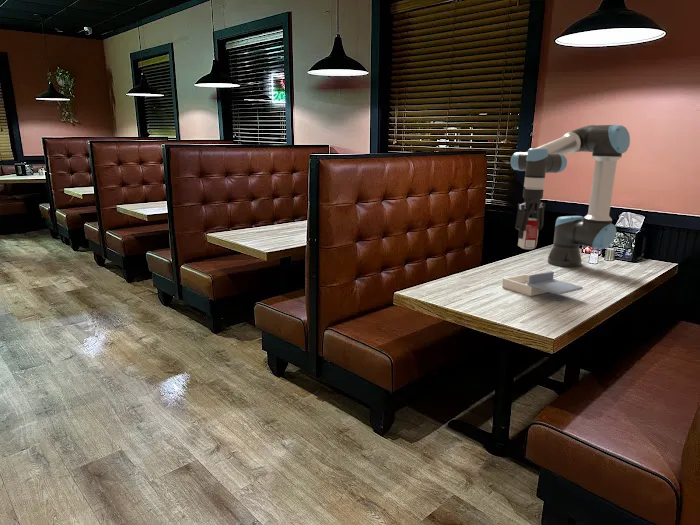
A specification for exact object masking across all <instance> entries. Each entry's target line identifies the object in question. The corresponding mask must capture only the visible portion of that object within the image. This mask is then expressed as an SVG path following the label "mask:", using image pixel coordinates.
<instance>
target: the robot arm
mask: <svg viewBox="0 0 700 525" xmlns="http://www.w3.org/2000/svg"><path fill="white" fill-rule="evenodd" d="M630 136H631V135H630V132H629V130H628V129H627V127H626V126H624V125H621V124H620V125H619V124H603V125H602V124H601V125H600V124H599V125H596V124H592V125H591V124H590V125H585V126H582V127H579V128H575V129H573V130H570V131H569V132H567V133H564V134H563V136H561V137H560V138H557V139H555V140H552V141H550V142H547V143H545V144H542V145H540V146H537V147H535V148H531V147H530V148H529V149H528V150H527V151H524V152H523V151H519V152H518V151H517V152H514V153H513V154H512V155H511V157H510V167H511V169H513V170H515V171H519V172H524V171H525V175H524V182H523V190H522V198H523V202H522V203H518V204H517V213H516V220H515V226H514V229H515V230H518V236H517V237H518V238H517V239H518V240H517V241H518V242H517V246H518V247H519V246H520V248H521V247H525V238H526V231H524V230H525V228H526V225H527V222H528V219H529V218H530V216H531V218H536V219H537V222H538V233H537V239H538V237H539V232H540V231H541V230H542V229H543V227H544V219H545V207H546V203H545V202H541V200H542V199H543V198H544V188H545V182H546V173H547V174H549V173H552V174H557V173H561V172H564V170H565V169H566V168H567V164H568V159H567V157H566V156H565V155H567V154H575V153H581V152H585V153H587V152H589V153H592V154H591V155H592V156H591V157H592V158H593V159H594V168H593V175H592V181H591V182H592V183H591V190H590V195H589V196H590V197H589V203H588V204H589V205H588V212H587V214H586V215H585V216H582V215H565V216H558V217H557V218H556V220H555V225H554V236H553V246H552V247H551V251H550V253H549V255H548V256H547V263H548V264H550V265H554V266H558V267H566V268H576V267H577V268H578V267H581V266H582V255H581V252H580V246H584V247H589V248H592V249H593V248H594V249H600V250H604V249H607V248H608V247H610V246H611V244H613V242H614V241H615V238H616V235H617V226H616V225H615V224H613V223H612V222H613V219H612V218H611V216H610V212H611V203H612V197H613V190H614V185H615V184H614V183H615V177H616V171H617V170H616V169H617V163H618V161H620V159H621V158H622V156H623V154H624V153H626V152H628V150H629V149H628V148H630V144H631V137H630ZM537 244H538V241H537V242H536V246H537Z"/></svg>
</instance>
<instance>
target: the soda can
mask: <svg viewBox="0 0 700 525" xmlns="http://www.w3.org/2000/svg"><path fill="white" fill-rule="evenodd" d="M524 231H526V238H525V247H520V246H518V247H520V248H521V249H523V250H533V249H535V248H537V245H536V242H537V243H538V238H537V233H538V222H537V219H536V218H532V217H529V219H528V222H527V225H526V228H525V230H524ZM538 234H539V233H538Z"/></svg>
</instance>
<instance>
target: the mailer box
mask: <svg viewBox="0 0 700 525" xmlns="http://www.w3.org/2000/svg"><path fill="white" fill-rule="evenodd" d="M530 275H531V274H528V273H523V274H518V275H513V276H509V277H504V278H502V288H504V289H508V290H510V291H514V292H518V293H520V294H523V295H526V296H529V297H532V296H537V295H540V294H541V295H542V294H545V292H546V293H549V292H548V291H545V290H542V289H538V288H535V287H532V286H529V285H527V284H528V283H529V277H530Z"/></svg>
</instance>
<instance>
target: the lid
mask: <svg viewBox="0 0 700 525" xmlns="http://www.w3.org/2000/svg"><path fill="white" fill-rule="evenodd" d="M554 274H555V272H554V271H552V270H551V271H546V272H541V273H535V274H529V275H530V277H529V283H528V284H527V285H529V286H532V287H535V288H538V289H542V290H545V291H548V292H547V293H551V294H555V295H558V296H559V295H560V296H561V295H564V294H568V293H571V292H576V291H580V290H583V288H584V287H583V286H581V285H576V284H573V283H569V282H567V281H562V280H559V279H557V278H556V279H554Z"/></svg>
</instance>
